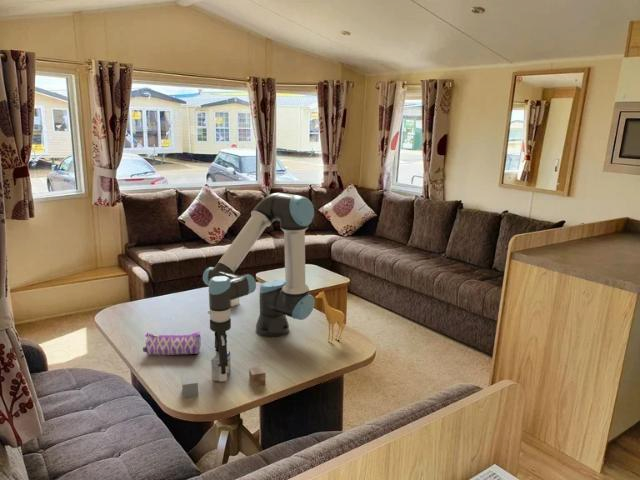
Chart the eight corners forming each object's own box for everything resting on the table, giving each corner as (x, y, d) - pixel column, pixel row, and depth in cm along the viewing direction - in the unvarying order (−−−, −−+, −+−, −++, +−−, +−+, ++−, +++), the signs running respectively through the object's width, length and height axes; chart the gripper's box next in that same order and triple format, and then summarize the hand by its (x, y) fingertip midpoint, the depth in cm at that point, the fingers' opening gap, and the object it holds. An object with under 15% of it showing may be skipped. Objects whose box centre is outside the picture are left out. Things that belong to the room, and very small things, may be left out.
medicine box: (222, 382, 175) (222, 361, 172) (211, 380, 175) (210, 359, 173) (231, 371, 182) (230, 351, 180) (220, 370, 183) (219, 349, 181)
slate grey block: (196, 388, 171) (196, 375, 170) (198, 395, 166) (197, 382, 165) (182, 390, 169) (182, 377, 168) (183, 397, 165) (182, 384, 163)
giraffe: (317, 349, 202) (318, 294, 196) (311, 345, 206) (312, 290, 199) (347, 340, 211) (349, 287, 205) (341, 336, 215) (343, 284, 209)
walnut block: (262, 378, 179) (262, 366, 177) (265, 385, 174) (265, 372, 173) (249, 380, 177) (249, 368, 176) (251, 387, 172) (251, 374, 171)
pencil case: (143, 359, 189) (141, 337, 187) (148, 348, 198) (147, 327, 196) (199, 358, 192) (199, 336, 190) (202, 347, 201) (202, 326, 198)
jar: (239, 306, 245) (239, 284, 242) (223, 307, 243) (223, 284, 240) (238, 299, 254) (238, 278, 251) (223, 300, 252) (222, 279, 249)
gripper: (206, 308, 182) (207, 361, 187) (213, 332, 162) (214, 390, 168) (226, 306, 184) (227, 359, 190) (235, 329, 164) (236, 387, 170)
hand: (221, 374), depth 179 cm, fingers closed on medicine box, 9 cm apart
